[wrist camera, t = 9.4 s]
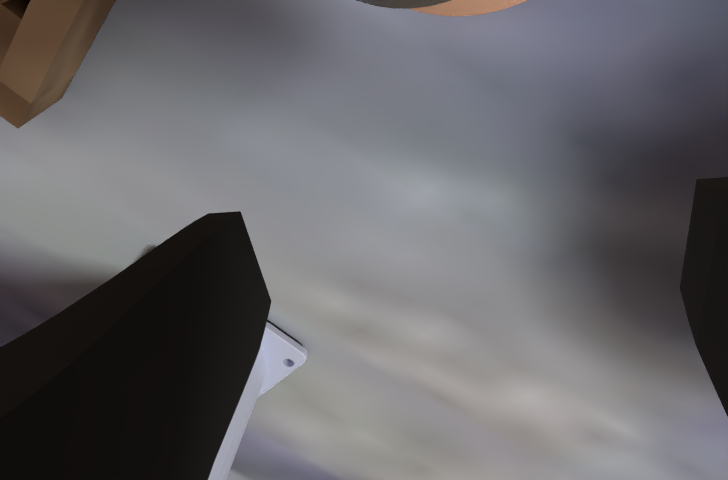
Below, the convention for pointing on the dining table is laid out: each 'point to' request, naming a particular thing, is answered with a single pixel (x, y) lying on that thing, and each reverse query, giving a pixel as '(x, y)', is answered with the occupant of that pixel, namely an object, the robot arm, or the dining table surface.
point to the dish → (467, 7)
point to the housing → (43, 51)
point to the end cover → (404, 3)
